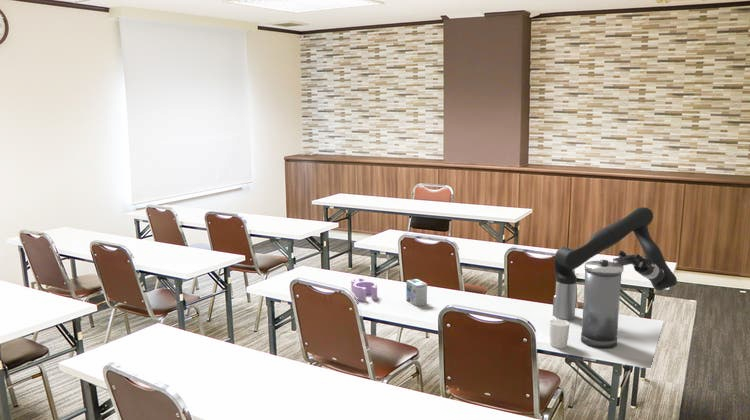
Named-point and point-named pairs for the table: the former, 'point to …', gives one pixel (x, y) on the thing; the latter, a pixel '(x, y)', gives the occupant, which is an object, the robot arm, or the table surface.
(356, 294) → the clip
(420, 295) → the light bulb box
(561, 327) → the white cup
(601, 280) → the canister
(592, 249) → the robot arm
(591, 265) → the lid
